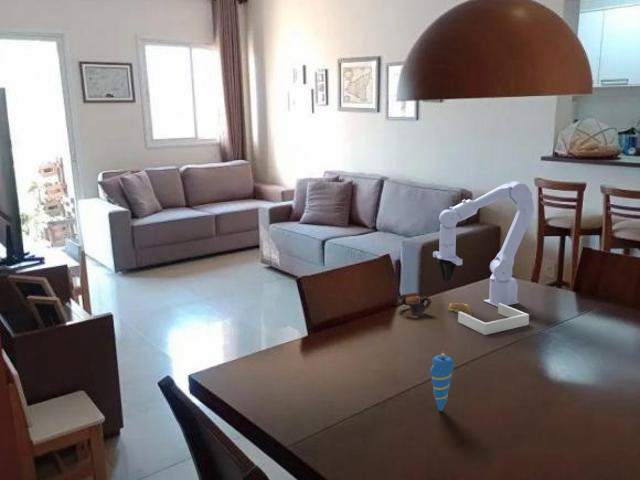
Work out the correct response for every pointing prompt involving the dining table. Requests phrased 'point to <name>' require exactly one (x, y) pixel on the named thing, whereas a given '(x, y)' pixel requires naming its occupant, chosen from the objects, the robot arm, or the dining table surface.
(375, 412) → the dining table surface
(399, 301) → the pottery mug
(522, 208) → the robot arm
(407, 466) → the dining table surface
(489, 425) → the dining table surface
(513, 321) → the box
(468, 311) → the shard
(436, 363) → the ornament
